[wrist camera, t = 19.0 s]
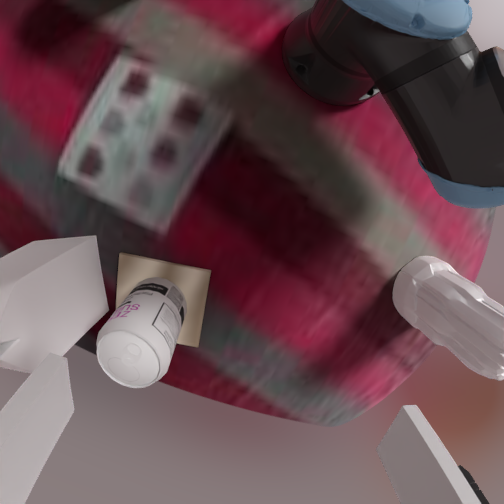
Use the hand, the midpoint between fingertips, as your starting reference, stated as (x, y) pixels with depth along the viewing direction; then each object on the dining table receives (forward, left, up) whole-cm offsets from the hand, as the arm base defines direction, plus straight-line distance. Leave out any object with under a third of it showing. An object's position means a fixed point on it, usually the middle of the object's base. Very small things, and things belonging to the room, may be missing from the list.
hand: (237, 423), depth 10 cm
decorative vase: (-30, +2, -33) cm, 45 cm away
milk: (+24, +10, -33) cm, 42 cm away
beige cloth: (+9, +11, -33) cm, 36 cm away
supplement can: (+9, +11, -32) cm, 35 cm away
